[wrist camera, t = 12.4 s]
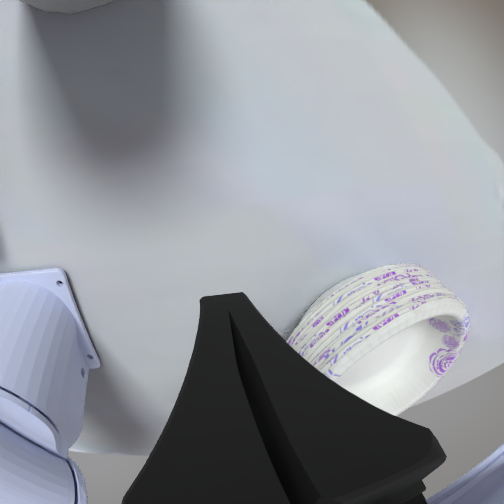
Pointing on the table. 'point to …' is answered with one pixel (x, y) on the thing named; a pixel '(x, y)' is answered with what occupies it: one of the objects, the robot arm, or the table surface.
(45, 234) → the table surface
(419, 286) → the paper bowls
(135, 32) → the table surface
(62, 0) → the cup
